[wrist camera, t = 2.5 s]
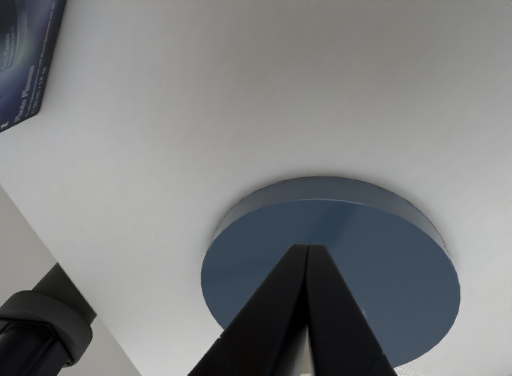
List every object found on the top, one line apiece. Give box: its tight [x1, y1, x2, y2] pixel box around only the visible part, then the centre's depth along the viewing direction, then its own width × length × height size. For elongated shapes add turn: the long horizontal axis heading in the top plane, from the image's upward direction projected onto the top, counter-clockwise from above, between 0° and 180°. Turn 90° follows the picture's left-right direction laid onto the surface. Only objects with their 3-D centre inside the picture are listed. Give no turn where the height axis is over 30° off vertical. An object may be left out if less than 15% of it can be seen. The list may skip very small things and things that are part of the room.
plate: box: [201, 176, 460, 368], centre depth 25 cm, size 17×17×2 cm
